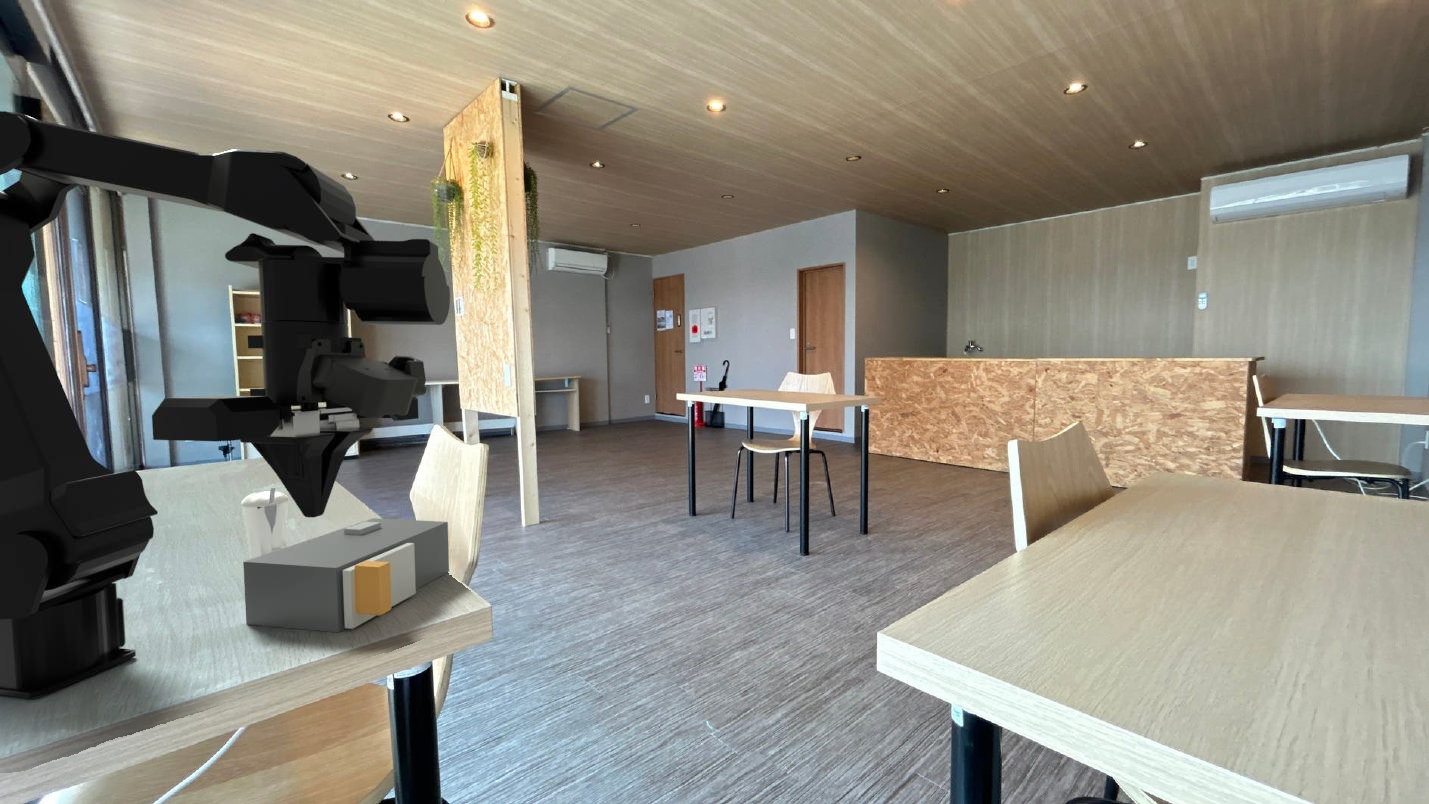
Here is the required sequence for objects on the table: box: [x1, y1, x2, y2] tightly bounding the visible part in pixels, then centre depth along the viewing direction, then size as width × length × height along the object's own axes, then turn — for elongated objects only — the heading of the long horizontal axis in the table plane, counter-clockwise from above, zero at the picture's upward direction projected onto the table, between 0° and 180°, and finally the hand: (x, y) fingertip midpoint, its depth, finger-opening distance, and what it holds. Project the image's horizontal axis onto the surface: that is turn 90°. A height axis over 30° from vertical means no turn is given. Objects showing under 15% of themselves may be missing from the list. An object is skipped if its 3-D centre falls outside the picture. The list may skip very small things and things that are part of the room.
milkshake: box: [240, 487, 289, 560], centre depth 69 cm, size 4×5×10 cm
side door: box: [343, 543, 417, 630], centre depth 56 cm, size 8×3×6 cm, turn 170°
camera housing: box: [242, 517, 450, 633], centre depth 61 cm, size 17×10×7 cm, turn 170°
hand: (313, 516), depth 46 cm, fingers closed
